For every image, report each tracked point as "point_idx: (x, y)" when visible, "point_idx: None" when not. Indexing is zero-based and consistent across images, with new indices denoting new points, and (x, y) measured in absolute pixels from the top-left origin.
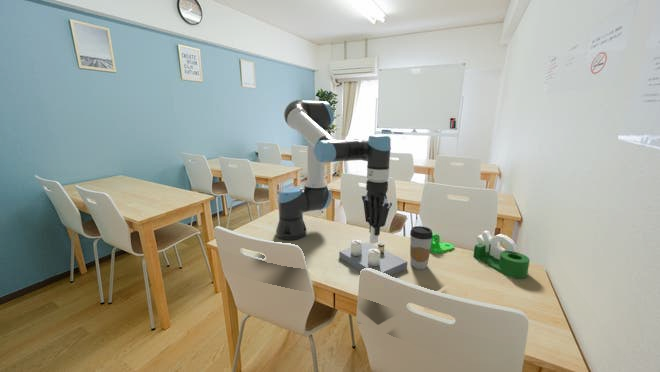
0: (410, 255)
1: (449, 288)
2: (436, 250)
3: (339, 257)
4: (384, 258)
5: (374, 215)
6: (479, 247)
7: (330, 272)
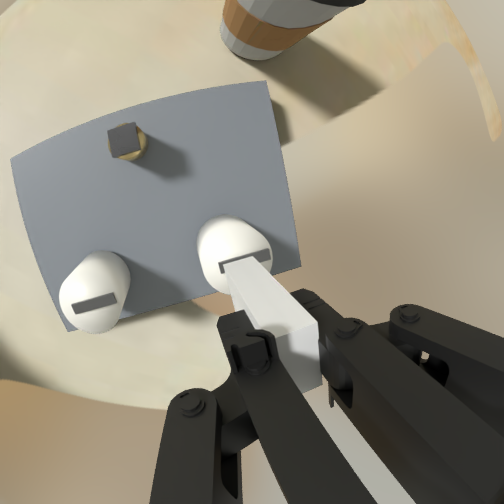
0: (245, 42)
1: (390, 78)
2: None
3: None
4: (193, 160)
5: (396, 478)
6: None
7: (173, 374)
